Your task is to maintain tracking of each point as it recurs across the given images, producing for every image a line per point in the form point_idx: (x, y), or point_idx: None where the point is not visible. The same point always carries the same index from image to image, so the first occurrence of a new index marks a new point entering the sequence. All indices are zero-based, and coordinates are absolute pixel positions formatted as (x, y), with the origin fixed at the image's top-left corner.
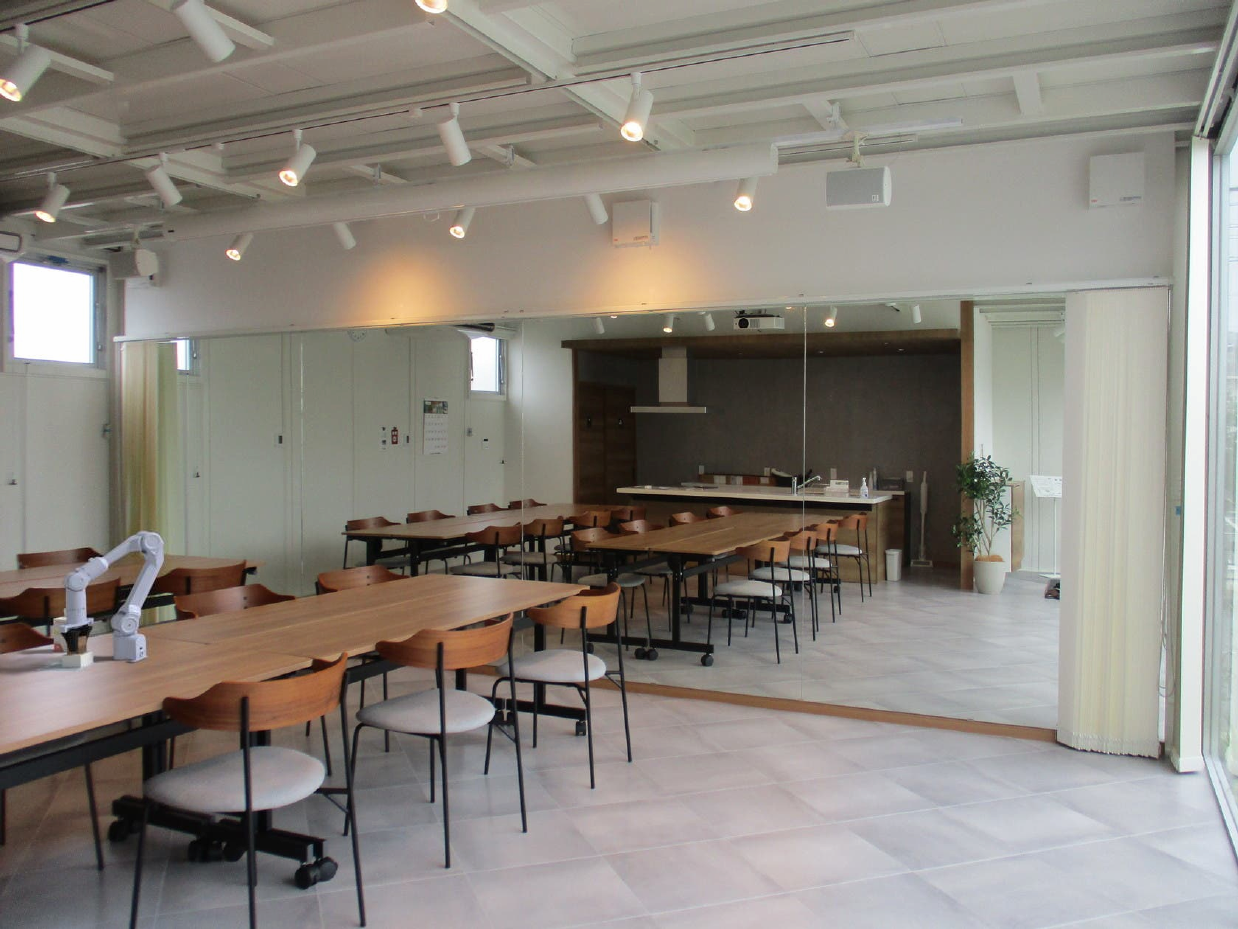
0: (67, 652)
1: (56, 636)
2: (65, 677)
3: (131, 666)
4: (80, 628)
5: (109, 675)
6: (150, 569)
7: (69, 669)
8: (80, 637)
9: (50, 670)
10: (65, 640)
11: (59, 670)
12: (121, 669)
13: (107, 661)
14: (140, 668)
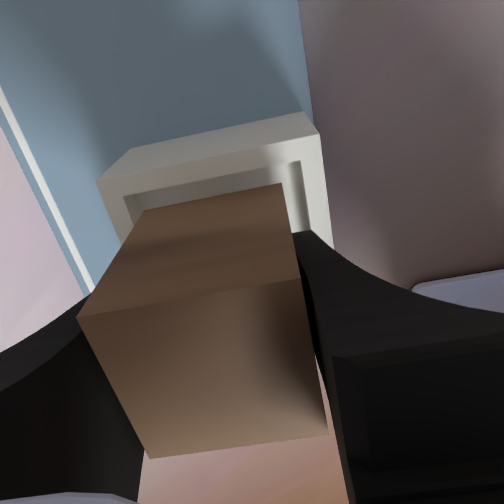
0: (141, 220)
1: None
2: (21, 319)
3: (337, 446)
4: (355, 502)
5: (155, 469)
6: None
7: (104, 264)
8: (229, 429)
9: (12, 145)
10: (22, 346)
11: (49, 219)
12: (270, 445)
13: (458, 247)
14: (306, 495)
